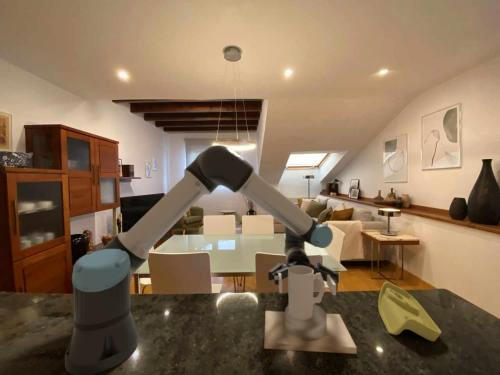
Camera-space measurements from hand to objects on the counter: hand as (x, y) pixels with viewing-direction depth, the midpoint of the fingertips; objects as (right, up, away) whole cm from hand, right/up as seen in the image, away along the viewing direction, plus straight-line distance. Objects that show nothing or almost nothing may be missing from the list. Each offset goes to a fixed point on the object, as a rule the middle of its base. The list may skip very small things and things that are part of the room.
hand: (307, 289), depth 60 cm
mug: (0, -8, +3) cm, 9 cm away
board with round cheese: (0, -13, +4) cm, 14 cm away
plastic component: (+31, -14, +9) cm, 35 cm away
